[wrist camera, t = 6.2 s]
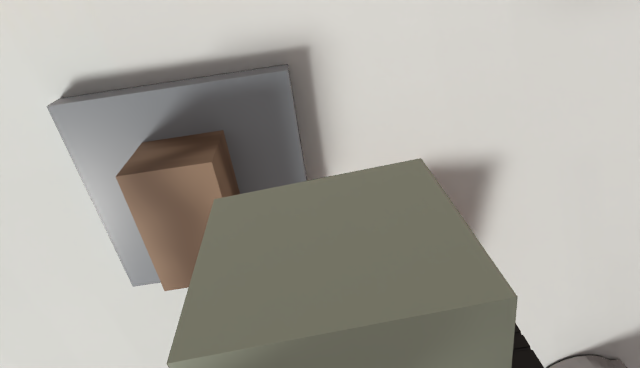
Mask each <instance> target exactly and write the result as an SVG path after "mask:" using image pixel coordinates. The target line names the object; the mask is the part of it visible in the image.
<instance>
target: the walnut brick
mask: <svg viewBox="0 0 640 368" xmlns="http://www.w3.org/2000/svg"><path fill="white" fill-rule="evenodd" d="M116 179H117V181H118V184H119V186H120V188H121V191H122V193H123V195H124V198H125V200H126V202H127V205H128V207H129V209H130V212H131V214H132V216H133V219H134V221H135V223H136V226H137V228H138V230H139V233H140V235H141V237H142V240H143V242H144V244H145V247H146V249H147V251H148V253H149V256H150V258H151V260H152V263H153V265H154V267H155V270H156V272H157V274H158V277H159V279H160V281H161V284H162V286H163V288H164V291H168V290H174V289H181V288H187V287H189V285H190V281H191V278H192V274H193V271H194V267H195V264H196V260H197V257H198V253H199V250H200V246H201V243H202V240H203V236H204V233H205V229H206V226H207V222H208V219H209V215H210V212H211V208H212V205H213V201H214V199H218V198H223V197H228V196H233V195H238V194H240V192H239V188H238V184H237V180H236V177H235V173H234V169H233V165H232V161H231V158H230V154H229V150H228V146H227V142H226V139H225V135H224V131H223V130H221V131H214V132H208V133H201V134H194V135H188V136H181V137H174V138H168V139H161V140H154V141H148V142H142V143H141V145H140V146H139V147H138V148H137V150H136V151H135V152H134V154H133V155H132V156H131V157H130V159H129V160H128V161H127V163H126V164H125V165H124V166H123V168H122V169H121V170H120V172H119V173H118V174H117V175H116Z"/></svg>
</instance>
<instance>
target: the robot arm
mask: <svg viewBox="0 0 640 368" xmlns="http://www.w3.org/2000/svg"><path fill="white" fill-rule="evenodd" d="M511 368H544V367H543V366H542V364H541V362H540V361H539V359H538V358H537V356H536V355H535V353H534V351H533V350H531V349H530V345H529V344H528V342H527V341H526V339H525V337H524V336H523V335H521V331H520V330H519V328H518V326H517V325H516V323H515V332H514V343H513V355H512V367H511ZM549 368H627V367H626V366H625V365H624V363H623V362H622V361H621V360H620V359H617V360H608V359H606V358H603V357H600V356H594V355H585V356H578V357H573V358H569V359H566V360H563V361H561V362H558V363H556V364H554V365H552V366H551V367H549Z"/></svg>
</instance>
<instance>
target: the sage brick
mask: <svg viewBox="0 0 640 368" xmlns="http://www.w3.org/2000/svg"><path fill="white" fill-rule="evenodd" d="M516 308H517V295H516V294H515V293H514V291H513V290H512V288H511V287H510V285H509V284H508V282H507V281H506V280H505V278H504V277H503V275H502V274H501V272H500V271H499V270H498V268H497V267H496V265H495V264H494V262H493V261H492V260H491V258H490V257H489V255H488V254H487V252H486V251H485V249H484V248H483V247H482V245H481V244H480V242H479V241H478V239H477V238H476V237H475V235H474V234H473V232H472V231H471V229H470V228H469V227H468V225H467V224H466V222H465V221H464V219H463V218H462V216H461V215H460V214H459V212H458V211H457V209H456V208H455V206H454V205H453V204H452V202H451V201H450V199H449V198H448V196H447V195H446V193H445V192H444V191H443V189H442V188H441V186H440V185H439V183H438V182H437V181H436V179H435V178H434V176H433V175H432V173H431V172H430V171H429V169H428V168H427V166H426V165H425V163H424V162H423V160H422V159H421V158H420V159H415V160H410V161H405V162H400V163H395V164H390V165H385V166H380V167H375V168H370V169H365V170H360V171H355V172H350V173H344V174H339V175H334V176H329V177H324V178H319V179H314V180H309V181H304V182H299V183H294V184H289V185H284V186H279V187H274V188H269V189H264V190H259V191H253V192H248V193H243V194H238V195H233V196H228V197H223V198H218V199H214V201H213V205H212V208H211V212H210V215H209V219H208V222H207V226H206V229H205V233H204V236H203V240H202V243H201V246H200V250H199V253H198V257H197V260H196V264H195V267H194V271H193V274H192V278H191V281H190V285H189V288H188V292H187V295H186V298H185V302H184V305H183V309H182V312H181V316H180V319H179V323H178V326H177V330H176V333H175V337H174V340H173V343H172V347H171V350H170V354H169V357H168V361H167V365H168V367H169V368H511V367H512V355H513V343H514V332H515V320H516Z"/></svg>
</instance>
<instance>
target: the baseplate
mask: <svg viewBox="0 0 640 368" xmlns="http://www.w3.org/2000/svg"><path fill="white" fill-rule="evenodd" d="M47 108H48V110H49V112H50V114H51V116H52V119H53V121H54V123H55V125H56V127H57V129H58V131H59V133H60V135H61V137H62V139H63V142H64V144H65V146H66V148H67V150H68V152H69V154H70V156H71V158H72V160H73V162H74V165H75V167H76V169H77V171H78V173H79V175H80V177H81V179H82V181H83V183H84V185H85V188H86V190H87V192H88V194H89V196H90V198H91V200H92V202H93V204H94V206H95V208H96V211H97V213H98V215H99V217H100V219H101V221H102V223H103V225H104V227H105V229H106V231H107V233H108V236H109V238H110V240H111V242H112V244H113V246H114V248H115V250H116V252H117V254H118V256H119V259H120V261H121V263H122V265H123V267H124V269H125V271H126V273H127V275H128V277H129V279H130V282H131V284H132V286H133V287H134V286H140V285H147V284H153V283H160V282H161V281H160V279H159V277H158V274H157V272H156V270H155V267H154V265H153V263H152V260H151V258H150V256H149V253H148V251H147V249H146V247H145V244H144V242H143V240H142V237H141V235H140V233H139V230H138V228H137V226H136V223H135V221H134V219H133V216H132V214H131V212H130V209H129V207H128V205H127V202H126V200H125V198H124V195H123V193H122V191H121V188H120V186H119V184H118V181H117V179H116V175H117V174H118V173H119V172H120V170H121V169H122V168H123V166H124V165H125V164H126V163H127V161H128V160H129V159H130V157H131V156H132V155H133V154H134V152H135V151H136V150H137V148H138V147H139V146H140V145H141V143H142V142H148V141H154V140H161V139H168V138H174V137H181V136H188V135H194V134H201V133H208V132H214V131H221V130H223V131H224V135H225V139H226V142H227V146H228V150H229V154H230V158H231V161H232V165H233V169H234V173H235V177H236V180H237V184H238V188H239V192H240V194H243V193H248V192H253V191H259V190H264V189H269V188H274V187H279V186H284V185H289V184H294V183H299V182H304V181H307V178H306V172H305V166H304V160H303V154H302V148H301V142H300V136H299V130H298V124H297V118H296V112H295V106H294V100H293V94H292V88H291V82H290V76H289V70H288V64H287V65H280V66H273V67H267V68H260V69H253V70H247V71H240V72H233V73H226V74H220V75H213V76H206V77H200V78H193V79H186V80H180V81H173V82H166V83H160V84H153V85H146V86H140V87H133V88H126V89H120V90H113V91H106V92H100V93H93V94H86V95H80V96H73V97H66V98H60V99H58V100H56V101H54V102H53V103H51V104H50V105H48V106H47Z"/></svg>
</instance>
